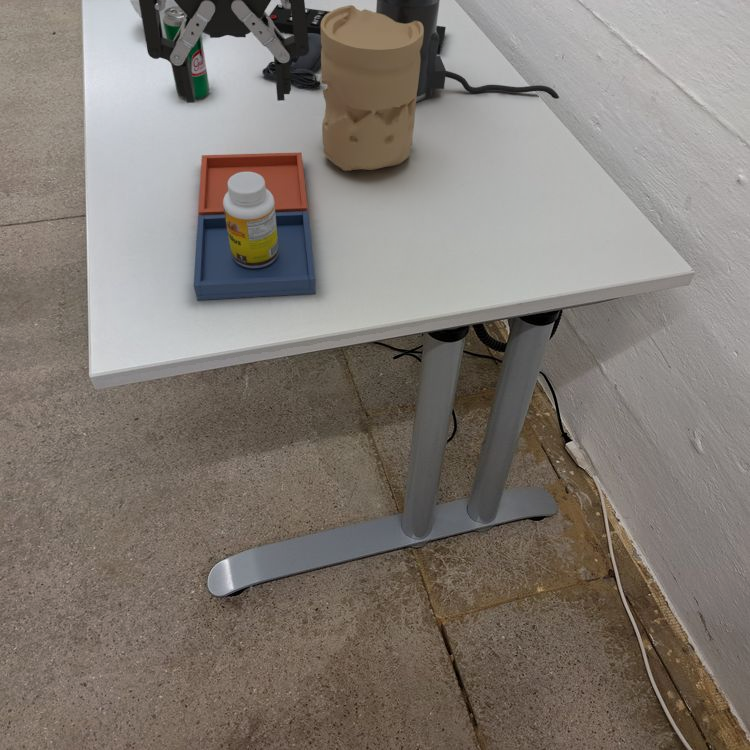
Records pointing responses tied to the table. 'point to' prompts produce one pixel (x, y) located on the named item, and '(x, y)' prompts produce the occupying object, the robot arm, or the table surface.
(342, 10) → the container
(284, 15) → the remote control
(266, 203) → the supplement bottle
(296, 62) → the computer mouse
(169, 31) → the soda can
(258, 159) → the terracotta tray
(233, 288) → the blue tray
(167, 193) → the table surface
